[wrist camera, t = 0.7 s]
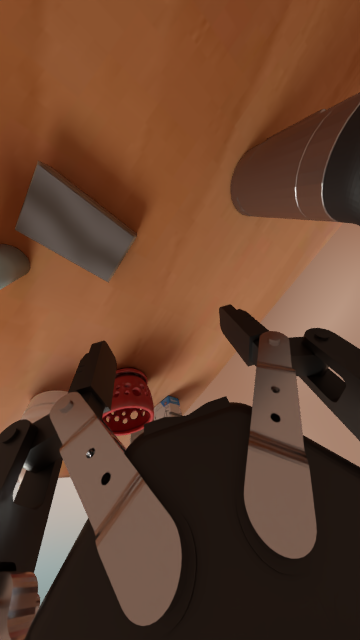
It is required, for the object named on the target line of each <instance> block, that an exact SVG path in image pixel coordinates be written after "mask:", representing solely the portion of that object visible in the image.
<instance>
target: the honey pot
mask: <svg viewBox="0 0 360 640" xmlns="http://www.w3.org/2000/svg"><path fill="white" fill-rule="evenodd" d="M66 394H68V392H67V391H46V392H43V393H40V394H38V395H36V396H34V397H33V398H32V399H31V401H30V403H29V404H28V406H27V408H26V410H25V412H24V414H23V416H22V417H21V419H20V420H22V419H27V420H29V421H30V422H31V423H34V422H36V421H37V420H39V419H41V418H43V417H44V416H46V415H48V414H49V413H50V411H51V409H52V407H53V405H54V404H55V403H56V402H57V401H58V400H59V399H60V398H61V397H63V396H64V395H66ZM25 472H26V469H23V468H22V471H21V473H20V475H19V478H18V480H19V481H20V482H22V480H23V477H24V474H25ZM20 485H21V484H20ZM18 490H19V488H18Z"/></svg>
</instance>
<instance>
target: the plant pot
mask: <svg viewBox="0 0 360 640" xmlns="http://www.w3.org/2000/svg"><path fill="white" fill-rule="evenodd" d="M147 383H148V381H147V377H146V375H145V374H144V373H143V372H141V371H139V370H137V369H132V368H124V369H119V370H116V374H115V382H114V390H113V397H112V405H111V411H108V412H105V413H103V417H102V419H103V421H104V422H105V423H106V424H107V426H108V427H109V428H110V429H111V431H112V432H113V433H114V434H115V436H120V435H127V434H131V433H135V432H137V431H140V430H142V429H144V424H146V423H149V422H152V420H153V418H154V407H153V400H152V396H151V393H150V390H149V388H148V386H147ZM140 408H141V409H142V410H140ZM134 411H136V412H138V416H137V418H136V419H131V418H130V415H131V413H132V412H134ZM144 411H145V415H144V416H143V412H144ZM111 412H114V415H112V414H111ZM123 412H125V413H126V414H125V415H124V416H123V415H122V413H123ZM106 417H108V418H109V422H107V421H106ZM115 417H118V418H119V421H115V420H114V418H115ZM124 419H127V420H128V422H127V423H125V424H124V423H123V420H124Z"/></svg>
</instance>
